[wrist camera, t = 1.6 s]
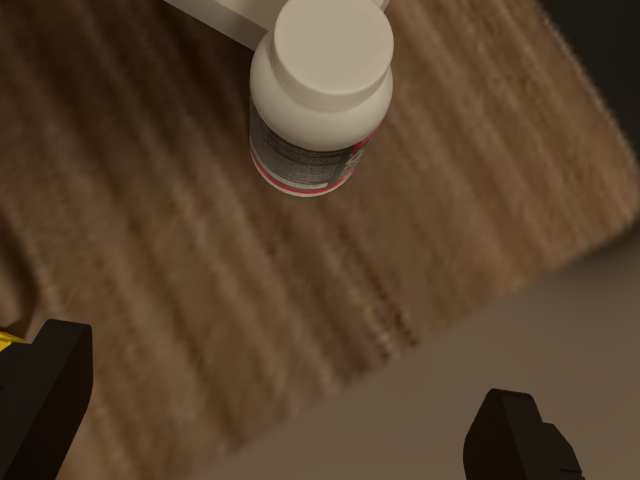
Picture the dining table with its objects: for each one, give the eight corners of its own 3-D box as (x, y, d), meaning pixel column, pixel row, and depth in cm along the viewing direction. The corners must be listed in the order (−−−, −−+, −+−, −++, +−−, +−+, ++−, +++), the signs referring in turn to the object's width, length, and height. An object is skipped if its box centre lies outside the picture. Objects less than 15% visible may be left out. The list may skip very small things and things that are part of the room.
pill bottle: (356, 204, 28) (412, 123, 19) (244, 194, 28) (241, 105, 18) (361, 99, 29) (416, -27, 20) (253, 87, 29) (256, -48, 19)
